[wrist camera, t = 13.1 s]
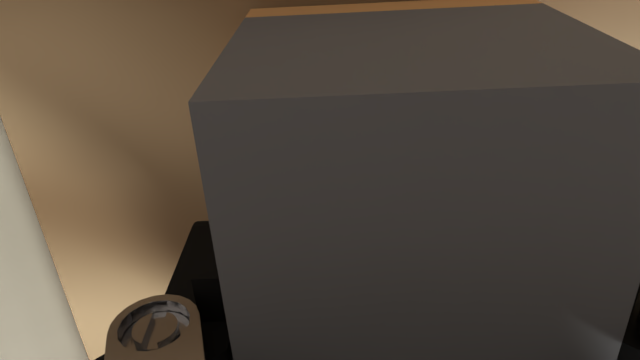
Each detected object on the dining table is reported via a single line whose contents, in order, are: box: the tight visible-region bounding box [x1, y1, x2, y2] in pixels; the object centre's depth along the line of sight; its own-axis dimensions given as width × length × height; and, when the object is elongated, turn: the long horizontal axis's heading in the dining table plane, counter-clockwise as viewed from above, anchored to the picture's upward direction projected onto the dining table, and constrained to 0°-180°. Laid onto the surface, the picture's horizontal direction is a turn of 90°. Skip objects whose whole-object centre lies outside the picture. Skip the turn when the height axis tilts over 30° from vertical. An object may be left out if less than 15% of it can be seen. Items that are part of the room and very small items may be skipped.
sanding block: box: [188, 0, 640, 360], centre depth 9 cm, size 9×5×5 cm, turn 3°
